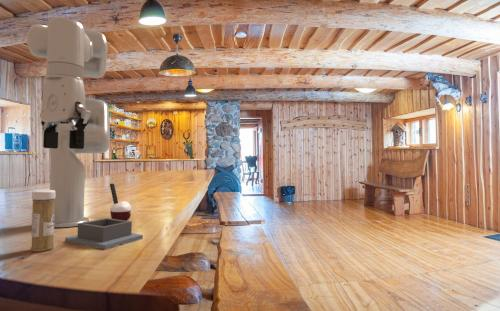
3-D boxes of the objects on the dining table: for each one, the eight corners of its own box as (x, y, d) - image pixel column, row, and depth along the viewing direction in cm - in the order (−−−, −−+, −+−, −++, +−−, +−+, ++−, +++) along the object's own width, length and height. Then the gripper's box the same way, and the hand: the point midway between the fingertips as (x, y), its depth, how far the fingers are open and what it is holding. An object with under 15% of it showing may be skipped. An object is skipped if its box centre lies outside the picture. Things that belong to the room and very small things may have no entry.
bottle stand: (65, 241, 83) (65, 223, 84) (104, 232, 94) (105, 216, 94) (105, 249, 77) (105, 230, 77) (142, 238, 88) (143, 221, 88)
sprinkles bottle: (54, 250, 76) (56, 191, 76) (30, 253, 73) (32, 191, 73) (53, 245, 79) (54, 189, 80) (30, 248, 77) (32, 189, 77)
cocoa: (133, 223, 109) (136, 187, 109) (113, 225, 105) (116, 187, 105) (124, 217, 117) (127, 183, 117) (105, 218, 113) (108, 183, 113)
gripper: (27, 74, 78) (25, 147, 78) (73, 66, 70) (71, 148, 70) (58, 81, 85) (56, 148, 85) (104, 74, 77) (102, 149, 77)
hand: (63, 148), depth 77 cm, fingers open, 9 cm apart
